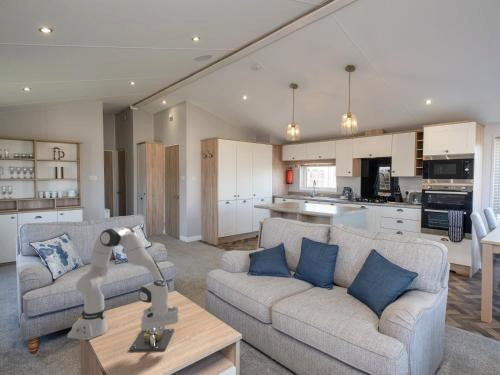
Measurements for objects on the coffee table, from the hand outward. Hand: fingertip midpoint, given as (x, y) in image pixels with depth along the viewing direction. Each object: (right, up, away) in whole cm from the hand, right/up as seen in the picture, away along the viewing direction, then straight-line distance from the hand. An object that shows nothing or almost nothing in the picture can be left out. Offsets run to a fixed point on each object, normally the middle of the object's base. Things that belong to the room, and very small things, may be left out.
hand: (159, 333), depth 166 cm
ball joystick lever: (-6, -6, +5) cm, 10 cm away
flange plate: (-6, -8, +8) cm, 13 cm away
